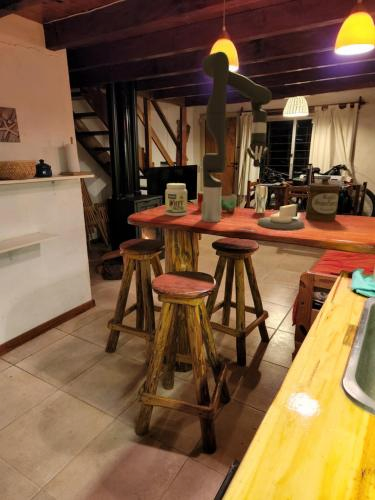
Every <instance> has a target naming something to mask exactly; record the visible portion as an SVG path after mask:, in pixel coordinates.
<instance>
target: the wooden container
mask: <svg viewBox="0 0 375 500" xmlns="http://www.w3.org/2000/svg"><path fill="white" fill-rule="evenodd" d="M329 180H330V178H329V177H327V176H323V177H322V178H321V181H319V182H315V183H314V182H313V183H309V187H308V195H307V203H306V211H305V219H306V220H310V221H313V222H314V221H315V222H326V223H328V222H334V221H335V220H336V215H337V209H338V203H339V202H338V201H339V195H340V186H341V185H340V184H338V183H330V182H329Z"/></svg>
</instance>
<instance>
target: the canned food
mask: <svg viewBox="0 0 375 500" xmlns="http://www.w3.org/2000/svg"><path fill="white" fill-rule="evenodd" d="M202 201H203V190H201V191H197V211H198V212H202Z"/></svg>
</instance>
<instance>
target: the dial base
mask: <svg viewBox="0 0 375 500" xmlns="http://www.w3.org/2000/svg"><path fill="white" fill-rule="evenodd" d="M270 219H271V216H264V217H259V218H258V219H257V225H258V226H261V227H263V228H267V229H271V230H273V229H274V230H282V231H284V230H285V231H288V230H291V231H294V230H300V229H303V228H304V227H305V222H304V221H303V220H301V219H297V218H294V217H292V221H291V222H290V223H277V222H272V221H270Z"/></svg>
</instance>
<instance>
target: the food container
mask: <svg viewBox="0 0 375 500" xmlns="http://www.w3.org/2000/svg"><path fill="white" fill-rule="evenodd" d="M237 199H238V197H237V195H236V194H235V193H231V194H230V195H221V214H234V213H235V209H236V201H237Z"/></svg>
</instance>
